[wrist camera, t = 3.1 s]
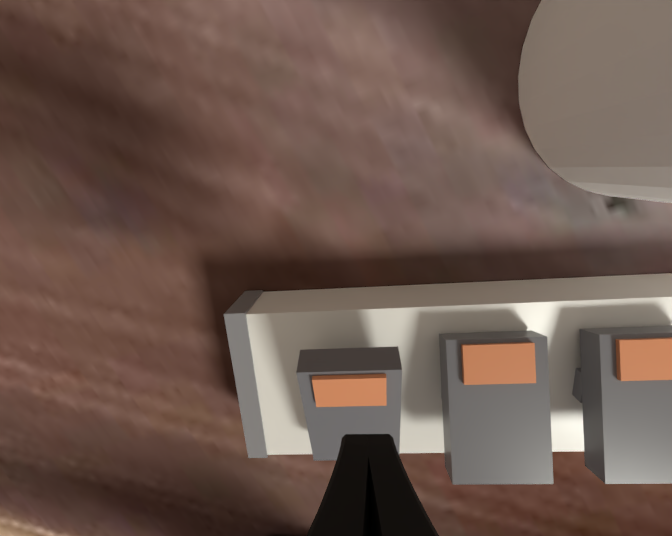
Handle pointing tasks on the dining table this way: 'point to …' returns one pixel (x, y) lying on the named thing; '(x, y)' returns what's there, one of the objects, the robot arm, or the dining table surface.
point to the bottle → (601, 94)
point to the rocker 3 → (627, 403)
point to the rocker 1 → (349, 395)
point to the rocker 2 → (496, 407)
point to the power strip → (423, 344)
